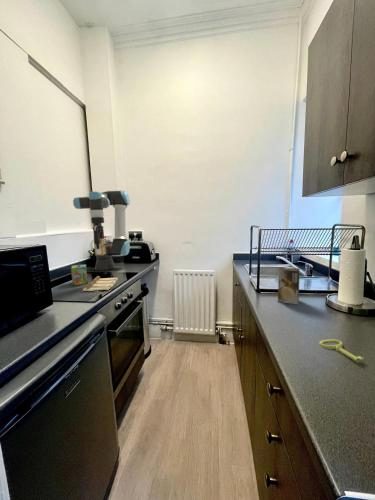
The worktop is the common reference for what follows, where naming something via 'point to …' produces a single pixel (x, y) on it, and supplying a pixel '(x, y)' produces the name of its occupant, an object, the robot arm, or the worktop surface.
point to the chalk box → (79, 274)
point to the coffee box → (288, 285)
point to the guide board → (100, 284)
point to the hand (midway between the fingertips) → (100, 253)
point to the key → (339, 349)
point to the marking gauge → (102, 247)
